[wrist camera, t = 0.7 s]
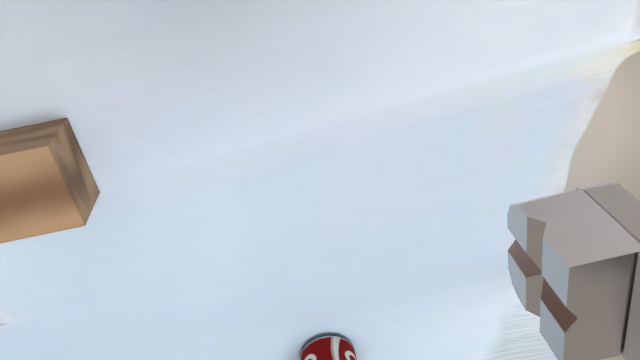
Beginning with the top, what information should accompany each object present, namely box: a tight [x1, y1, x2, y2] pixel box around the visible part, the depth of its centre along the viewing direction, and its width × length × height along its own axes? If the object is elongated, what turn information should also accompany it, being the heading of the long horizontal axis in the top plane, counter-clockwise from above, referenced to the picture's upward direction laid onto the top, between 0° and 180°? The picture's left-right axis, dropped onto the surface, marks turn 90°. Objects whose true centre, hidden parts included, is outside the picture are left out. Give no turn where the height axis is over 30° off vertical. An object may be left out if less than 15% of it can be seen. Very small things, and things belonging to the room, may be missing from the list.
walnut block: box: [0, 118, 100, 243], centre depth 49 cm, size 8×8×6 cm
